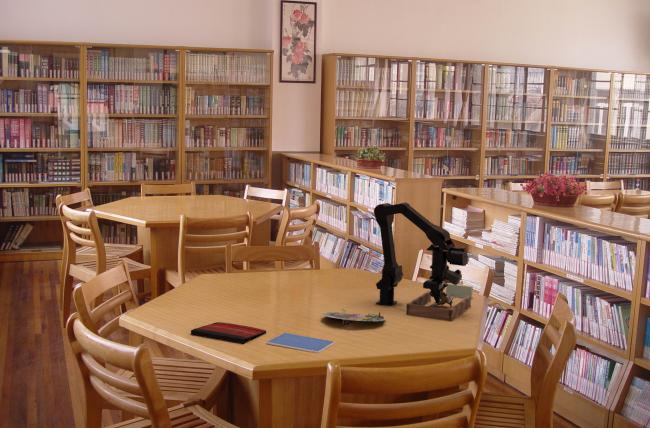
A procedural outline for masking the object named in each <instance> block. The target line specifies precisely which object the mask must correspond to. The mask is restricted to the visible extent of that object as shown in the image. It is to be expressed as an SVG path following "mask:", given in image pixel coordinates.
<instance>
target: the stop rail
mask: <svg viewBox="0 0 650 428" xmlns="http://www.w3.org/2000/svg"><path fill="white" fill-rule="evenodd" d="M446 284H448V286H447V287H446V288H445V293H446V295H447V297H449V296H450V295H452V294H453V298H461V299H465V298H466V297H468V296H471V300H472V299H473V289H474V288H473V285H466V284H460V283H459V284H457V285H454V284H452V283H451V282H447V283H446Z"/></svg>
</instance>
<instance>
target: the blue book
mask: <svg viewBox="0 0 650 428" xmlns="http://www.w3.org/2000/svg"><path fill="white" fill-rule="evenodd" d="M266 344H267V345H270V346H276V347H281V348H286V349H293V350H299V351H303V352H309V353H312V354H321V353H322V352H324V351H325V350H327V349H329V348H331V347H332V346H334V345H335V344H336V342H335V341H334V340H328V339H323V338H316V337H312V336H311V337H310V336H306V335H300V334H294V333H290V332H289V333H287V332H283V333H281V334H280V335H278V336H276V337H273V338H272V339H269V340H268V341H266Z"/></svg>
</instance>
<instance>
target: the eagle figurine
mask: <svg viewBox="0 0 650 428" xmlns="http://www.w3.org/2000/svg"><path fill="white" fill-rule="evenodd" d="M429 291H430V293H429V294H430V295H431V298H434V297H433V295H432V292H431V290H429ZM453 300H454V297H453V294H452V295H450V296H447V295H446V291H445V292H444V291H443V293H442V296H441V299H440V303H439V304H438V303H436V302H435V301H434V302H433V303H431V304H429V305H428V306H429V307H438V306H443V305H445V304H448V305H449V307H450V308H452V307H453V305H452V304H453V303H454V301H453Z"/></svg>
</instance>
